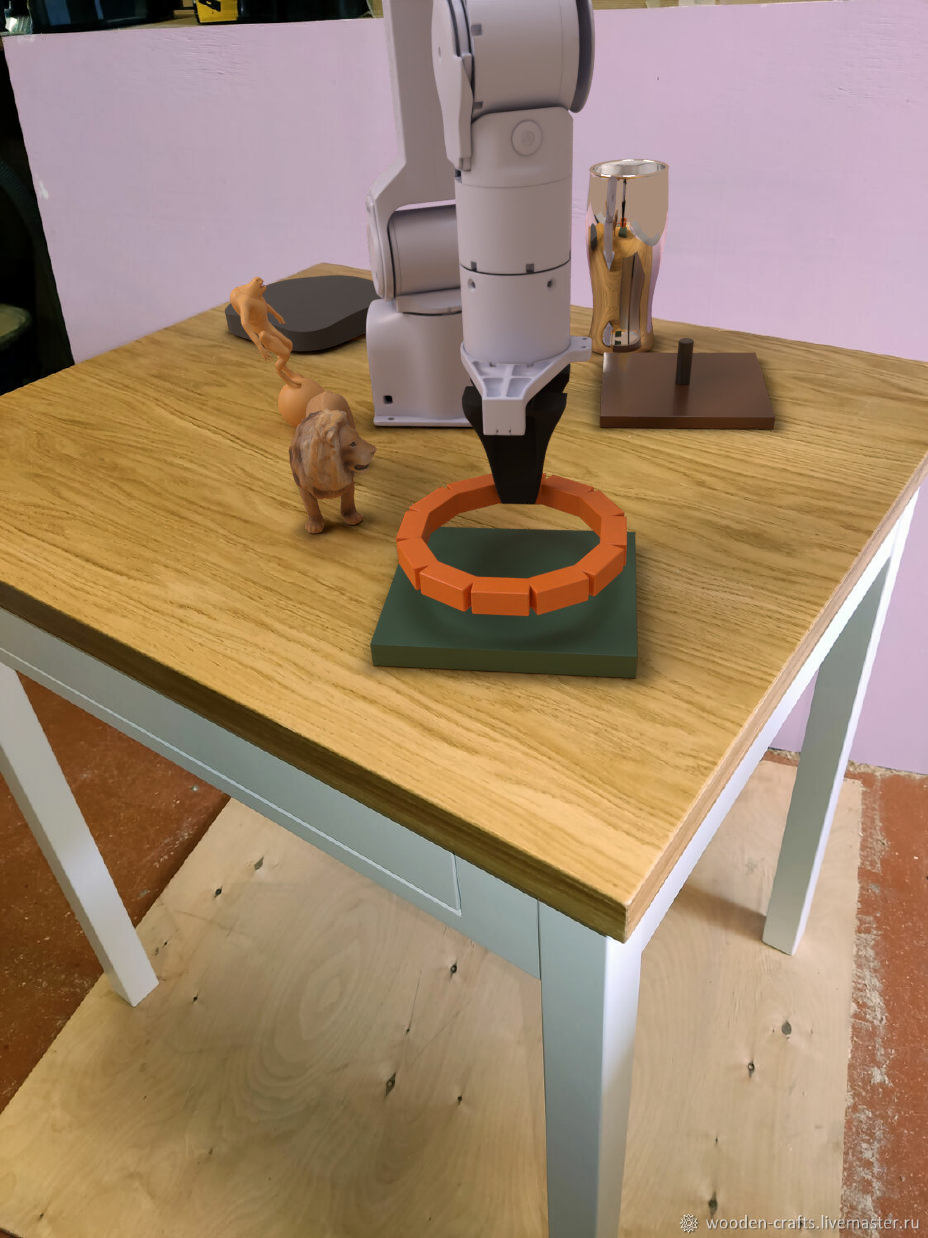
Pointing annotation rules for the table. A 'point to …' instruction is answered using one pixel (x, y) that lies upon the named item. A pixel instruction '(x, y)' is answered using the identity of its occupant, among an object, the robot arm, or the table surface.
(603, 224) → the beer glass
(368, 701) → the table surface
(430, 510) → the ring
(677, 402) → the post
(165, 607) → the table surface
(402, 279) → the robot arm
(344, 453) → the lion figurine
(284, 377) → the figurine
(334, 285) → the media streaming box
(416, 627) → the stand
